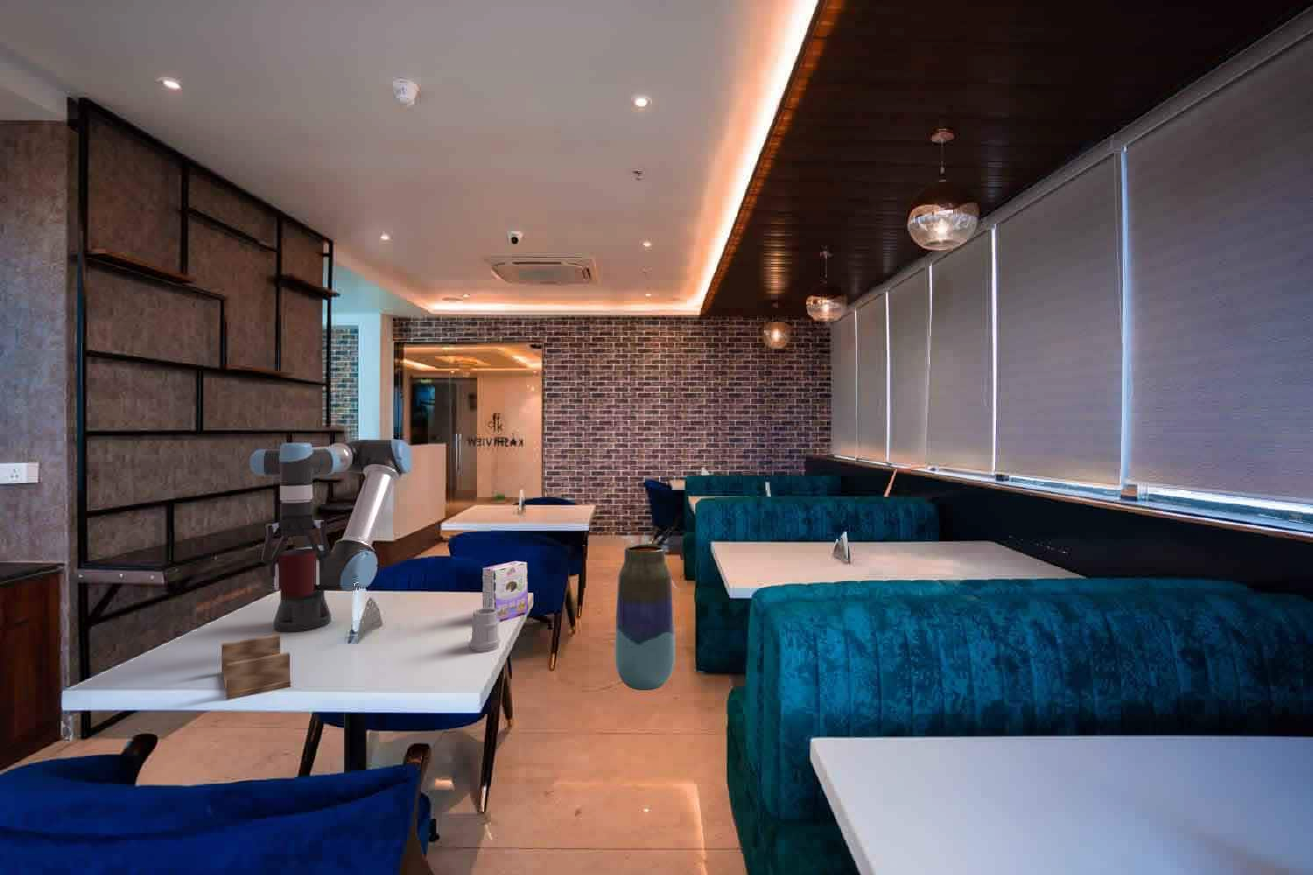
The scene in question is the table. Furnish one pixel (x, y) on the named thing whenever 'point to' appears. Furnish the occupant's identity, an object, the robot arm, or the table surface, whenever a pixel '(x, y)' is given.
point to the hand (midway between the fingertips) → (297, 586)
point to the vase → (644, 619)
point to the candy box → (506, 589)
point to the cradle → (254, 666)
